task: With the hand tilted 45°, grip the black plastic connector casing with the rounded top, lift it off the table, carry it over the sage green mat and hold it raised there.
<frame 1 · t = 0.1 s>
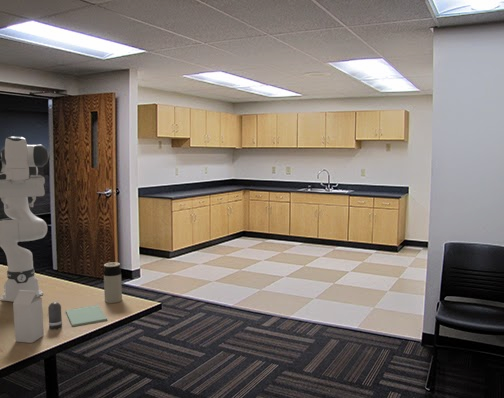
hand: (19, 207, 195), 48 cm above the table, tool pointing down, fingers open, 8 cm apart
connector casing: (55, 327, 188), on the table
milk carton: (29, 339, 176), on the table
travel mug: (113, 301, 221), on the table
sage green mat: (86, 316, 200), on the table
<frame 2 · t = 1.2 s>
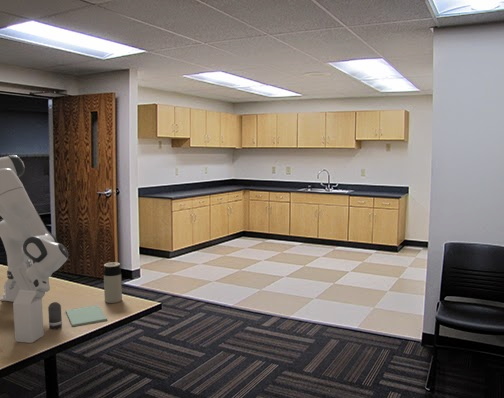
hand: (13, 296, 199), 9 cm above the table, tool tilted 50°, fingers open, 8 cm apart
nothing on the table moved.
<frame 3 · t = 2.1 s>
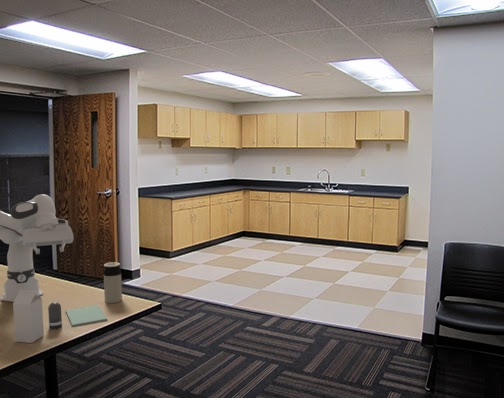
hand: (50, 252, 196), 29 cm above the table, tool tilted 45°, fingers open, 8 cm apart
nothing on the table moved.
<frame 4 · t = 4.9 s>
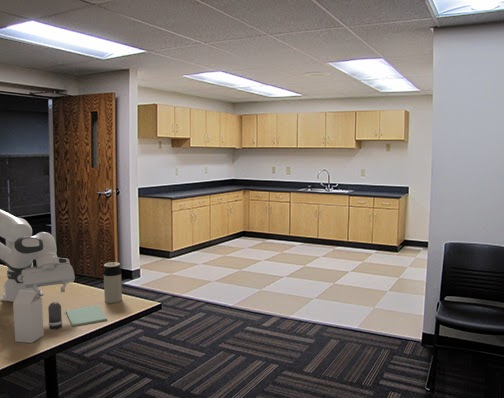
hand: (50, 293, 193), 12 cm above the table, tool tilted 45°, fingers open, 8 cm apart
nothing on the table moved.
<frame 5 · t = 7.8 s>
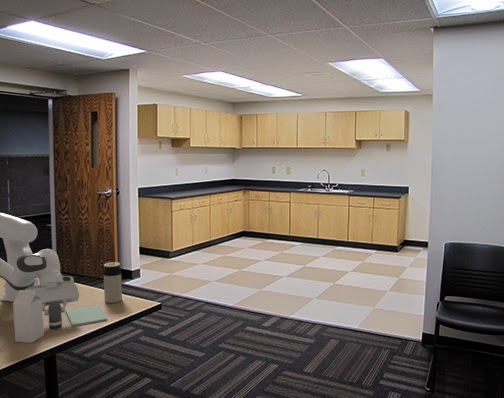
hand: (55, 313, 187), 6 cm above the table, tool tilted 45°, fingers closed on connector casing, 5 cm apart
connector casing: (55, 327, 188), on the table, touching gripper
everything else where it was.
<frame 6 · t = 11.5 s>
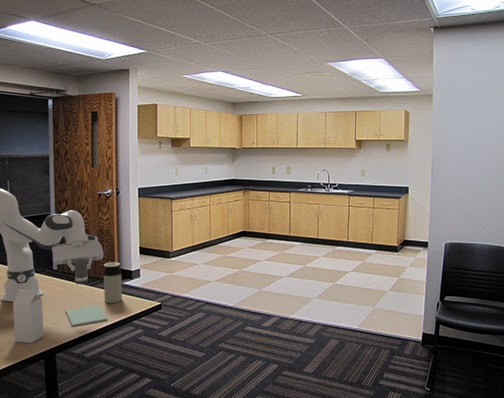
hand: (81, 269, 196), 21 cm above the table, tool tilted 45°, fingers closed on connector casing, 5 cm apart
connector casing: (81, 282, 197), point 15 cm above the table, touching gripper
everything else where it was.
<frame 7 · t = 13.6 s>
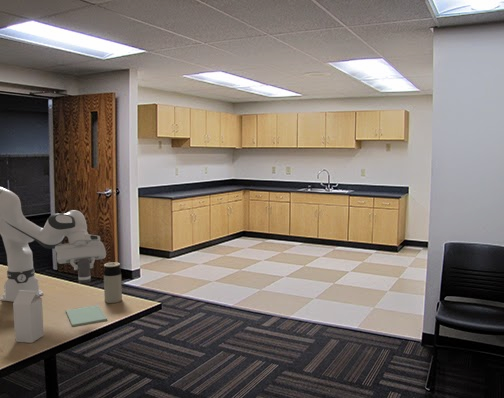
hand: (84, 268, 197), 21 cm above the table, tool tilted 45°, fingers closed on connector casing, 5 cm apart
connector casing: (84, 281, 198), point 15 cm above the table, touching gripper
everything else where it was.
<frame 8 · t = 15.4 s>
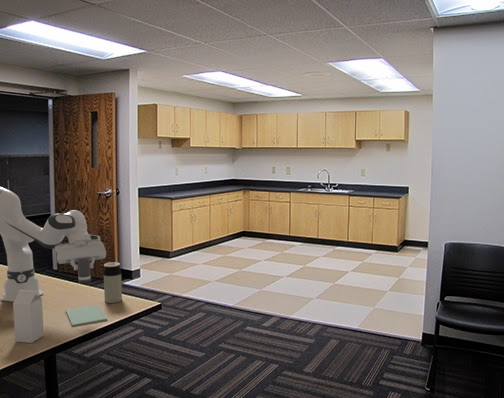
hand: (84, 268, 197), 21 cm above the table, tool tilted 45°, fingers closed on connector casing, 5 cm apart
connector casing: (84, 281, 198), point 15 cm above the table, touching gripper
everything else where it was.
at the end: the gripper is holding connector casing; connector casing inside the target area (0.0 cm from its centre), point 15.5 cm above the table; connector casing tilted 0° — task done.
